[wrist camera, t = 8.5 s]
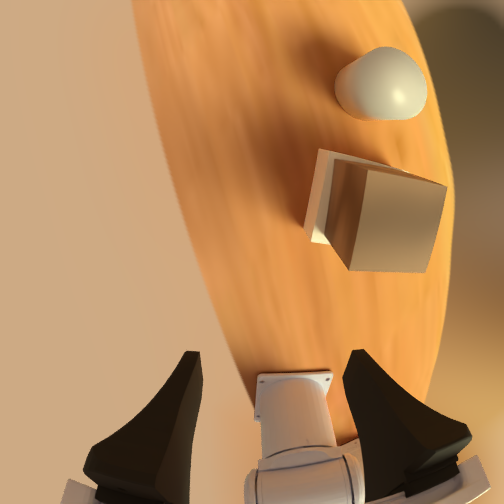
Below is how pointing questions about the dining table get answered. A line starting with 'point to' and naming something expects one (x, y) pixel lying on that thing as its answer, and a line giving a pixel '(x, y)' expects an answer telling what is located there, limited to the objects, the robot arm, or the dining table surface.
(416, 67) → the cream smooth round part
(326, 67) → the dining table surface
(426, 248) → the walnut cube
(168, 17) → the dining table surface
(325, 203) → the cream block
